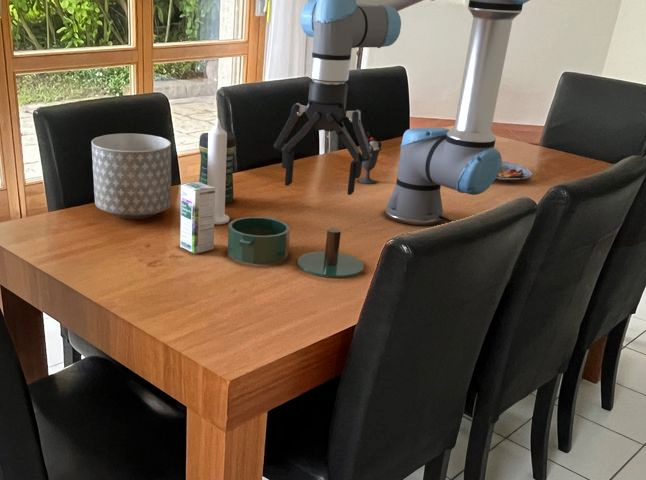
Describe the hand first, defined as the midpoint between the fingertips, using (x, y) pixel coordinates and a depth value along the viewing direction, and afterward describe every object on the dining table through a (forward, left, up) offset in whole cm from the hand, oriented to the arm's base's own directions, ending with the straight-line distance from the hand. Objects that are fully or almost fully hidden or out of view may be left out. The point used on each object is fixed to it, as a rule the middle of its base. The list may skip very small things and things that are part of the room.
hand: (319, 188), depth 157 cm
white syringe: (+31, -19, -17) cm, 40 cm away
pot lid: (-4, 0, -16) cm, 17 cm away
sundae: (+4, -76, -17) cm, 78 cm away
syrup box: (+27, +2, -17) cm, 32 cm away
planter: (+51, -13, -17) cm, 55 cm away
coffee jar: (+37, -34, -17) cm, 53 cm away
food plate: (-32, -106, -17) cm, 112 cm away
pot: (+13, 0, -17) cm, 21 cm away
